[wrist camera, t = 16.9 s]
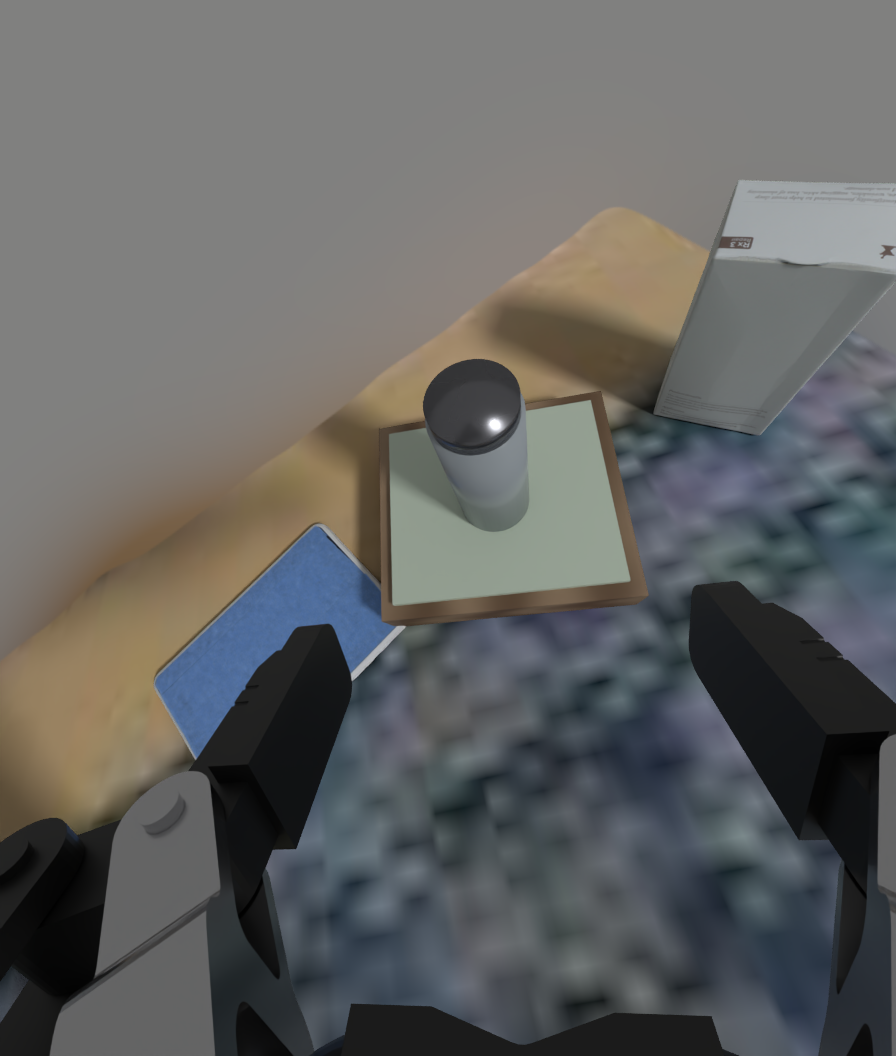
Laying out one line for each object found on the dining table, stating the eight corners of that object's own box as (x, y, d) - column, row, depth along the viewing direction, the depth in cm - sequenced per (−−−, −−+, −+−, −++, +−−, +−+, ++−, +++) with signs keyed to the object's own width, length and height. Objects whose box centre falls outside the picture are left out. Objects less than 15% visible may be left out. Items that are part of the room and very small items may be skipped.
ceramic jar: (463, 535, 30) (420, 453, 19) (459, 473, 32) (417, 365, 21) (533, 527, 30) (531, 437, 18) (525, 464, 31) (518, 347, 20)
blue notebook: (324, 521, 38) (317, 516, 37) (416, 619, 34) (412, 617, 32) (159, 680, 36) (146, 680, 35) (234, 807, 32) (222, 813, 30)
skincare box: (773, 379, 34) (934, 177, 20) (757, 442, 33) (920, 270, 19) (663, 359, 37) (741, 167, 23) (644, 417, 35) (715, 249, 21)
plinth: (396, 627, 33) (379, 620, 29) (392, 449, 39) (377, 425, 35) (636, 604, 30) (650, 594, 27) (594, 416, 36) (601, 386, 32)
